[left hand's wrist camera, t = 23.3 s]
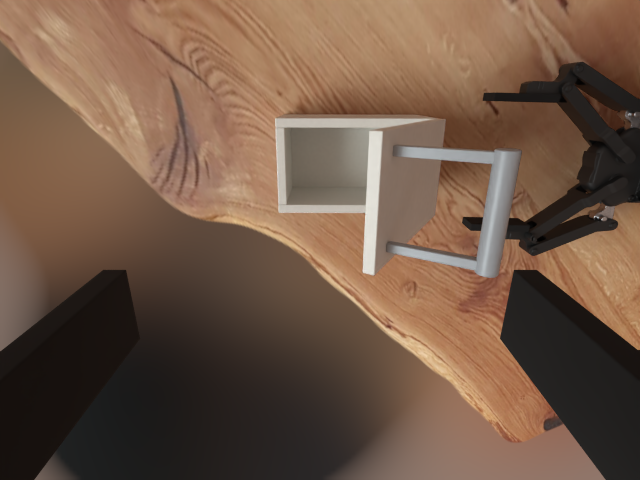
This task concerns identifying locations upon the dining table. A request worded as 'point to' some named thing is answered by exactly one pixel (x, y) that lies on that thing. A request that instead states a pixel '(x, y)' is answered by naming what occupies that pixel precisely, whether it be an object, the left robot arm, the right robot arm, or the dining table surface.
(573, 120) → the right robot arm
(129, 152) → the dining table surface
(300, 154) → the chest
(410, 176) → the lid
